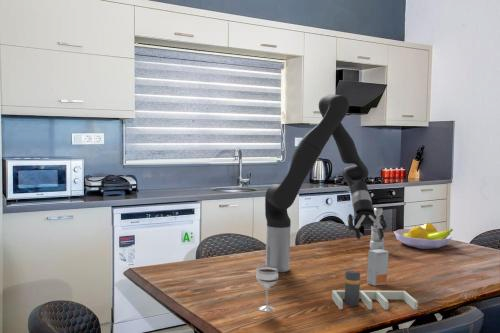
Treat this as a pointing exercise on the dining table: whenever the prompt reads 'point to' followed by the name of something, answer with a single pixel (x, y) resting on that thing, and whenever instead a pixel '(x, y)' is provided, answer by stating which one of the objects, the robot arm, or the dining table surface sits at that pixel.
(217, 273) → the dining table surface
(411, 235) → the fruit bowl
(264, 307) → the wineglass
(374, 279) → the skincare box
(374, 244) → the plastic bottle
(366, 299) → the rack
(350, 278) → the charcoal plug
